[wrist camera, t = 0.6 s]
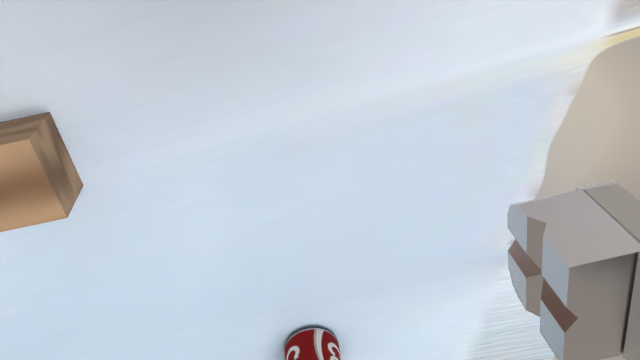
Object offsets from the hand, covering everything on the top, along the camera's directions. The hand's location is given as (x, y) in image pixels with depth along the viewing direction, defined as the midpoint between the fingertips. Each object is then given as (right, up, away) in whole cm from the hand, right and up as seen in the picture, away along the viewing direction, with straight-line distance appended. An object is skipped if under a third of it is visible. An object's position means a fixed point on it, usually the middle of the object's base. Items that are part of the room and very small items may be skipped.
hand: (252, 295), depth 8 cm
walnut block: (-27, +4, +45) cm, 52 cm away
